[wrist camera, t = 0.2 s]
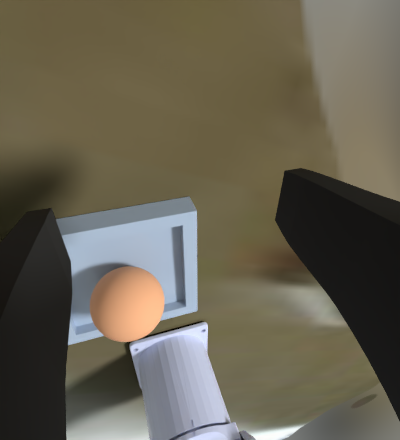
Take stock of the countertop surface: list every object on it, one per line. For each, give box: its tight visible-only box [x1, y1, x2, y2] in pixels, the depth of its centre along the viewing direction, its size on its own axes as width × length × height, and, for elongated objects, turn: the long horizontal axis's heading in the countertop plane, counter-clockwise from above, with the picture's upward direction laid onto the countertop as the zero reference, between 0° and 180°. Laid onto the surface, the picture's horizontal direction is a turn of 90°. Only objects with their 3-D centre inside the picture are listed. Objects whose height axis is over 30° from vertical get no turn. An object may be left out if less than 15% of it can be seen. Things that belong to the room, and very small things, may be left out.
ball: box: [90, 266, 165, 342], centre depth 21 cm, size 5×5×5 cm
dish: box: [56, 197, 197, 345], centre depth 23 cm, size 11×11×2 cm
